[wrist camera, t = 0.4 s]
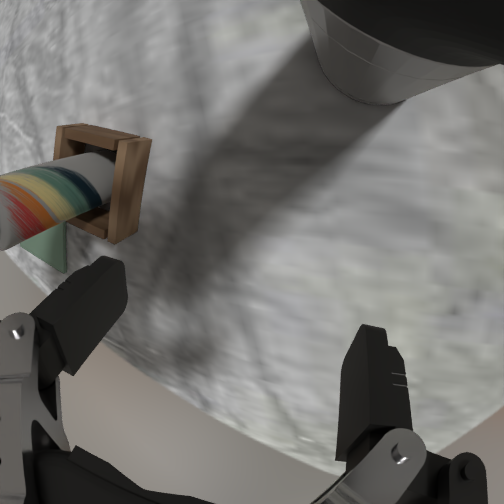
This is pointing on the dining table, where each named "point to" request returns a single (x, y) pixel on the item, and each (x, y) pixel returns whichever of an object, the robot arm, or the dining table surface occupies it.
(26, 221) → the lotion bottle
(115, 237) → the walnut holder
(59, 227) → the sage mat
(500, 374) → the dining table surface
